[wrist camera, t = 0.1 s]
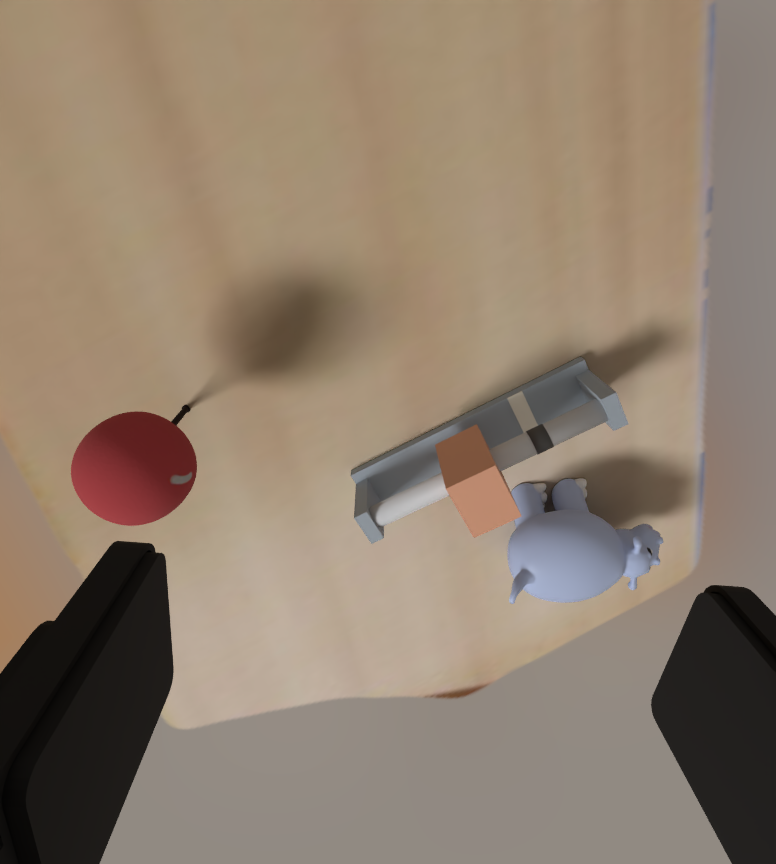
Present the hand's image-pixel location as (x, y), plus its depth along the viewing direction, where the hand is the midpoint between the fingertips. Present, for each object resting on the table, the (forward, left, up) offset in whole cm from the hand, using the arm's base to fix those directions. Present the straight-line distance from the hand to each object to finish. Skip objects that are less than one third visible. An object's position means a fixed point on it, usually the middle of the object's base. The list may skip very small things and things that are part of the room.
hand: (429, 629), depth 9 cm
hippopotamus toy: (+29, +4, -38) cm, 48 cm away
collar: (+16, 0, -34) cm, 38 cm away
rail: (+16, +1, -37) cm, 41 cm away
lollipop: (+1, -20, -37) cm, 43 cm away
